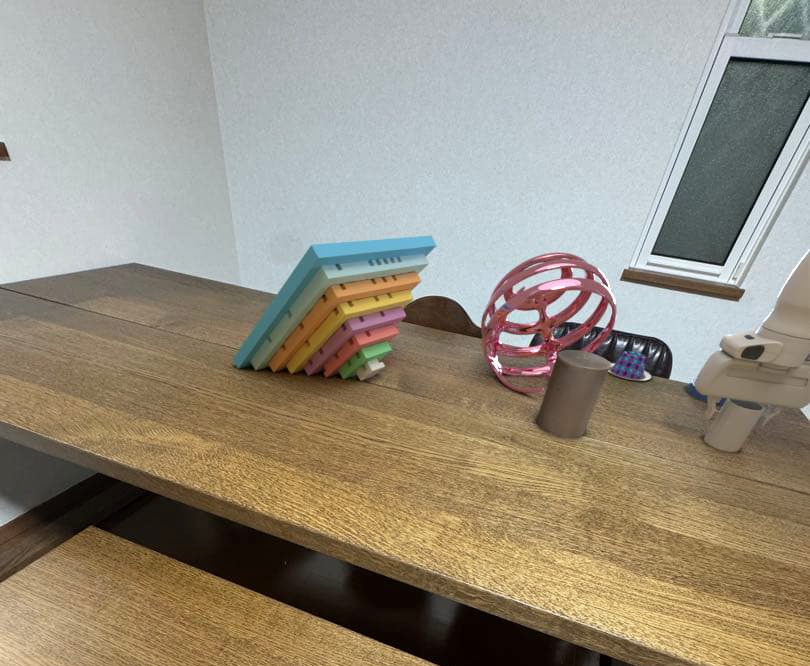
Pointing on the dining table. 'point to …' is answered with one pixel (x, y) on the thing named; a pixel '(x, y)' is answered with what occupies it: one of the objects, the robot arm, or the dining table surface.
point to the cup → (733, 424)
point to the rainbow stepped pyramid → (338, 308)
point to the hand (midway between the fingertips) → (733, 421)
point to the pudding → (631, 366)
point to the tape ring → (695, 393)
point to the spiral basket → (543, 313)
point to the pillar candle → (572, 393)
